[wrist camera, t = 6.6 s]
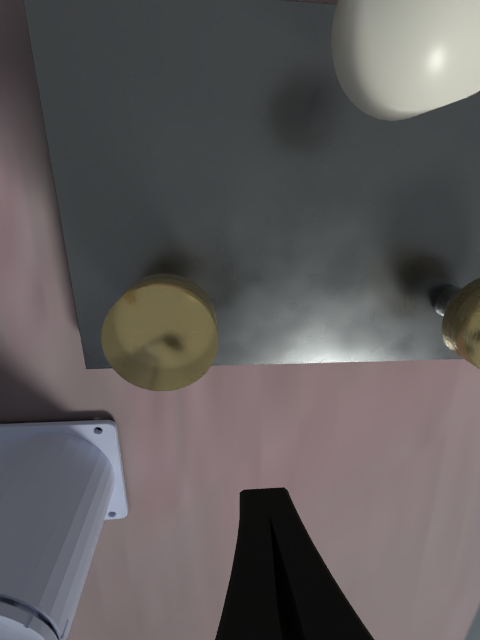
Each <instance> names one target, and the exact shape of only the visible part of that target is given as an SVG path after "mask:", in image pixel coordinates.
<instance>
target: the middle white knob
mask: <svg viewBox="0 0 480 640" xmlns="http://www.w3.org/2000/svg"><path fill="white" fill-rule="evenodd" d="M331 49H332V58H333V64H334V68H335V72H336V75H337V78H338V80H339V83H340V85H341V87H342V89H343V90H344V92H345V94H346V95H347V97H348V98H349V99H350V101H351V102H352V103H353V104H354V105H355V106H356V107H357V108H358V109H360V110H361V111H363V112H364V113H366V114H368V115H370V116H372V117H374V118H377V119H381V120H388V121H398V120H404V119H408V118H411V117H414V116H417V115H420V114H423V113H425V112H428V111H431V110H434V109H436V108H439V107H442V106H445V105H447V104H450V103H453V102H456V101H459V100H461V99H464V98H467V97H469V96H471V95H473V94H475V93H477V92H478V91H480V0H338V2H337V6H336V9H335V13H334V18H333V24H332V34H331Z"/></svg>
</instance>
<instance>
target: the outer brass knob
mask: <svg viewBox="0 0 480 640" xmlns="http://www.w3.org/2000/svg"><path fill="white" fill-rule="evenodd" d="M435 310H436V312H437V313H438V314H440V315H442V316H444V317H443V321H442V335H443V339H444V341H445V343H446V345H447V346H448V348H449V349H450V350H452V351H453V352H454V353H456V354H457V355H459V356H460V357H462V358H463V359H465V360H467V361H468V362H470V363H471V364H473V365H474V366H476V367H477V368H479V369H480V278H477V279H475V280H473V281H472V282H470V283H469V284H467V285H466V286H464V287H463V288H460V287H457V286H450V287H447V288H445V289H444V290H442V291H441V292H440V293H439V294H438V296H437V297H436V300H435Z"/></svg>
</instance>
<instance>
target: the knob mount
mask: <svg viewBox="0 0 480 640" xmlns="http://www.w3.org/2000/svg"><path fill="white" fill-rule="evenodd" d="M23 1H24V7H25V13H26V19H27V25H28V31H29V37H30V42H31V48H32V54H33V60H34V66H35V72H36V78H37V84H38V89H39V95H40V101H41V107H42V113H43V119H44V125H45V131H46V136H47V142H48V148H49V154H50V160H51V166H52V172H53V177H54V183H55V189H56V195H57V201H58V207H59V213H60V219H61V224H62V230H63V236H64V242H65V248H66V254H67V260H68V266H69V271H70V277H71V283H72V289H73V295H74V301H75V307H76V313H77V318H78V324H79V330H80V336H81V342H82V348H83V354H84V359H85V365H86V369H105V368H112V367H111V365H110V364H109V362H108V360H107V359H106V357H105V354H104V351H103V347H102V341H101V333H102V327H103V323H104V320H105V318H106V316H107V314H108V312H109V311H110V309H111V308H112V307H113V306H114V305H115V303H116V302H117V301H118V300H119V298H120V297H121V296H122V295H123V294H124V292H125V291H126V290H127V289H128V288H129V287H130V286H131V285H132V284H133V283H135V282H136V281H138V280H139V279H141V278H143V277H146V276H149V275H153V274H161V273H168V274H175V275H179V276H182V277H185V278H187V279H189V280H191V281H193V282H195V283H196V284H197V285H199V286H200V287H201V288H202V289H203V290H204V291H205V292H206V293H207V295H208V296H209V298H210V299H211V301H212V303H213V306H214V309H215V313H216V322H217V336H218V347H217V352H216V356H215V359H214V361H213V363H212V365H211V366H216V365H253V364H291V363H328V362H365V361H402V360H439V359H463V358H462V357H460V356H459V355H457V354H456V353H454V352H453V351H452V350H450V349H449V348H448V346H447V345H446V343H445V341H444V339H443V335H442V321H443V317H444V316H442V315H440V314H438V313H437V312H436V310H435V300H436V297H437V296H438V294H439V293H440V292H441V291H442V290H444V289H445V288H447V287H450V286H457V287H460V288H463V287H464V286H466V285H467V284H469V283H470V282H472V281H473V280H475V279H477V278H480V91H478V92H477V93H475V94H473V95H471V96H469V97H467V98H464V99H461V100H459V101H456V102H453V103H450V104H447V105H445V106H442V107H439V108H436V109H434V110H431V111H428V112H425V113H423V114H420V115H417V116H414V117H411V118H408V119H404V120H398V121H388V120H381V119H377V118H374V117H372V116H370V115H368V114H366V113H364V112H363V111H361V110H360V109H358V108H357V107H356V106H355V105H354V104H353V103H352V102H351V101H350V99H349V98H348V97H347V95H346V94H345V92H344V90H343V89H342V87H341V85H340V83H339V80H338V78H337V75H336V72H335V68H334V64H333V58H332V49H331V34H332V24H333V18H334V13H335V9H336V6H337V5H335V4H323V3H310V2H298V1H285V0H23Z"/></svg>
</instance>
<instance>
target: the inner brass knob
mask: <svg viewBox="0 0 480 640" xmlns="http://www.w3.org/2000/svg"><path fill="white" fill-rule="evenodd" d="M101 341H102V347H103V351H104V354H105V357H106V359H107V360H108V362H109V364H110V365H111V367H112V368H113V369H114V370H115V371H116V372H117V374H119V375H120V376H121V377H122V378H123V379H125V380H126V381H128V382H129V383H131V384H133V385H135V386H138V387H141V388H144V389H148V390H153V391H172V390H176V389H180V388H183V387H186V386H188V385H190V384H192V383H194V382H195V381H197V380H198V379H200V378H201V377H202V376H203V375H204V374H205V373H206V372H207V371H208V369H209V368H210V367H211V365H212V363H213V361H214V359H215V356H216V352H217V347H218V336H217V322H216V313H215V309H214V306H213V303H212V301H211V299H210V298H209V296H208V295H207V293H206V292H205V291H204V290H203V289H202V288H201V287H200V286H199V285H197V284H196V283H195V282H193V281H191V280H189V279H187V278H185V277H182V276H179V275H175V274H168V273H161V274H153V275H149V276H146V277H143V278H141V279H139V280H138V281H136V282H135V283H133V284H132V285H131V286H130V287H129V288H128V289H127V290H126V291H125V292H124V294H123V295H122V296H121V297H120V298H119V300H118V301H117V302H116V303H115V305H114V306H113V307H112V308H111V309H110V311H109V312H108V314H107V316H106V318H105V320H104V323H103V327H102V333H101Z"/></svg>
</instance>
